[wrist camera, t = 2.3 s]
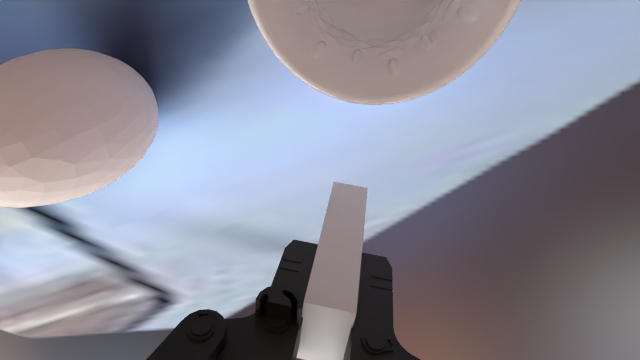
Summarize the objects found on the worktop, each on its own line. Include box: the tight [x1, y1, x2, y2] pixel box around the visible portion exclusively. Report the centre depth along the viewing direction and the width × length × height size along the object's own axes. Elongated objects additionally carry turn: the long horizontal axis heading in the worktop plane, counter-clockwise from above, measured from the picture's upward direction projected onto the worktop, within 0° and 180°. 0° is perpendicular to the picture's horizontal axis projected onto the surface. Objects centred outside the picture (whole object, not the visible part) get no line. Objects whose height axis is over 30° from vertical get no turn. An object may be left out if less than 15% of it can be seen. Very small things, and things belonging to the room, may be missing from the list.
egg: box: [0, 48, 158, 208], centre depth 18 cm, size 7×7×12 cm
